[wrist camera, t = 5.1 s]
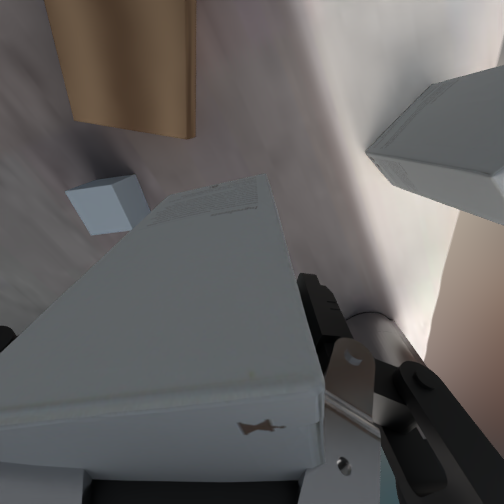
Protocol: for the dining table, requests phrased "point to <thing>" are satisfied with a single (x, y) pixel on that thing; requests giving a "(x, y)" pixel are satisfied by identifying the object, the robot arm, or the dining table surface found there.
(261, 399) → the small box
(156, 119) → the walnut slab
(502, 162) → the skincare box
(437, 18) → the dining table surface
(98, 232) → the blue-grey cube
